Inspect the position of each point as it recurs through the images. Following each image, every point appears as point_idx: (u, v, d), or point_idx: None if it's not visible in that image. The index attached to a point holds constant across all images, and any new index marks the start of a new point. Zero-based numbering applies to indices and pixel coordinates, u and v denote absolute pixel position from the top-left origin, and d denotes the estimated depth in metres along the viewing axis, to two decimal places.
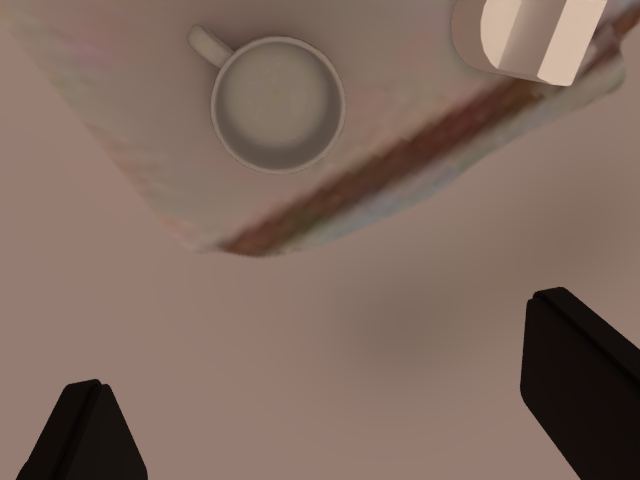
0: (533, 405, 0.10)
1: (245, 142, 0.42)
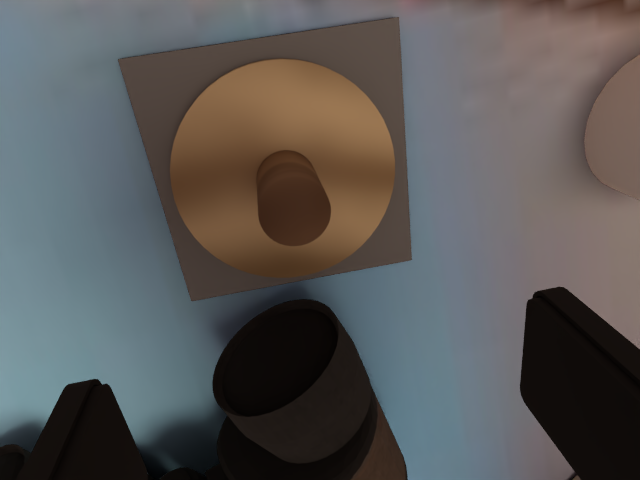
0: (533, 405, 0.10)
1: None
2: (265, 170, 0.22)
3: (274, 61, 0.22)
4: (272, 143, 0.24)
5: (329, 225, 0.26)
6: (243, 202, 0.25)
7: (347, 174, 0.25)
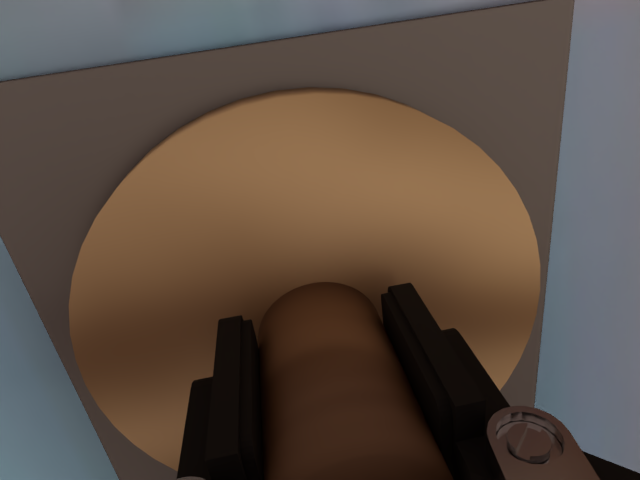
0: None
1: None
2: (279, 356, 0.09)
3: (299, 99, 0.09)
4: (293, 270, 0.11)
5: None
6: None
7: (443, 319, 0.12)
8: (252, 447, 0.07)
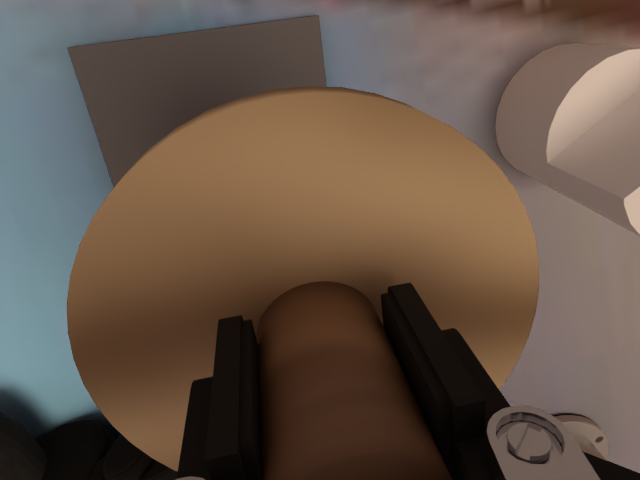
0: None
1: None
2: (278, 356, 0.09)
3: (297, 97, 0.09)
4: (291, 269, 0.11)
5: None
6: None
7: (442, 318, 0.12)
8: (252, 447, 0.07)
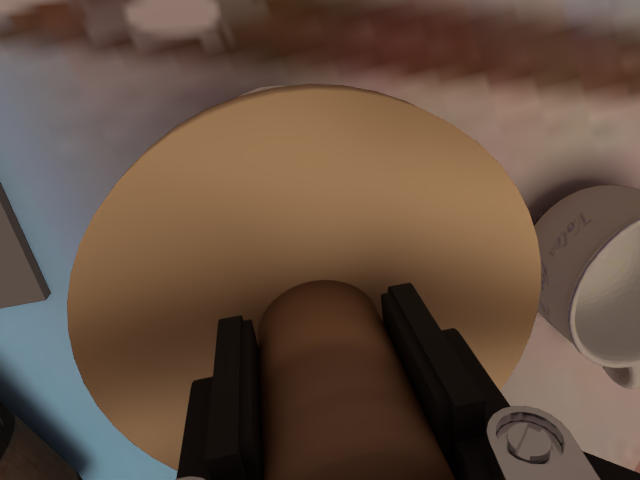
0: None
1: None
2: (279, 354, 0.09)
3: (298, 95, 0.09)
4: (293, 268, 0.11)
5: None
6: None
7: (444, 317, 0.12)
8: (252, 447, 0.07)
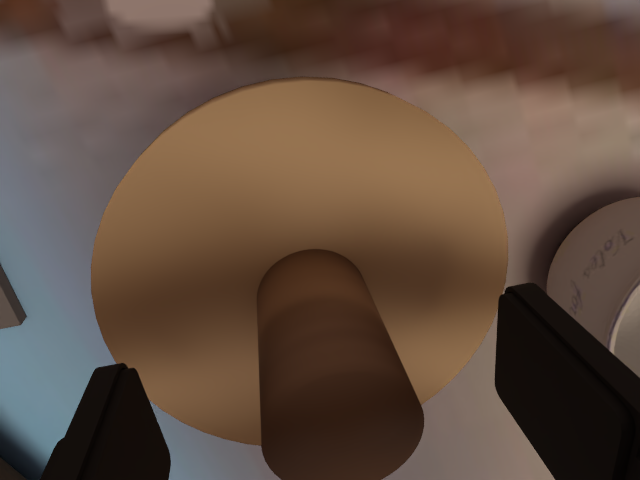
0: (506, 398, 0.11)
1: None
2: (275, 307, 0.11)
3: (292, 85, 0.11)
4: (287, 238, 0.12)
5: None
6: (233, 338, 0.14)
7: (422, 285, 0.14)
8: None
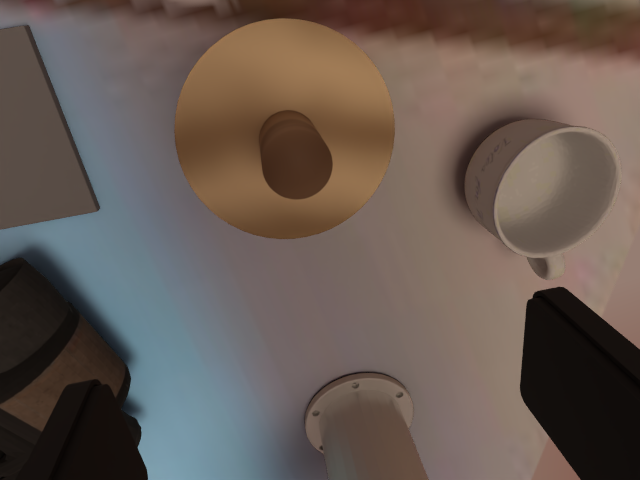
0: (533, 405, 0.10)
1: (576, 160, 0.40)
2: (268, 128, 0.23)
3: (275, 20, 0.23)
4: (274, 103, 0.24)
5: (331, 186, 0.27)
6: (246, 163, 0.25)
7: (348, 134, 0.25)
8: None
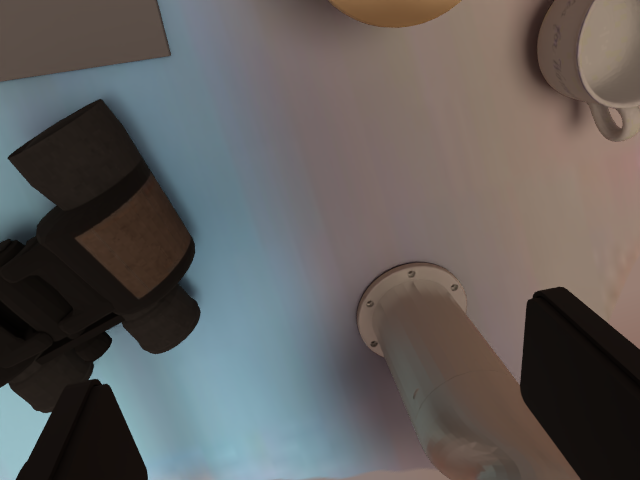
0: (533, 405, 0.10)
1: None
2: None
3: None
4: None
5: None
6: None
7: None
8: None
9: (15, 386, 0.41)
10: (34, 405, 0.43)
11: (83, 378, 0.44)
